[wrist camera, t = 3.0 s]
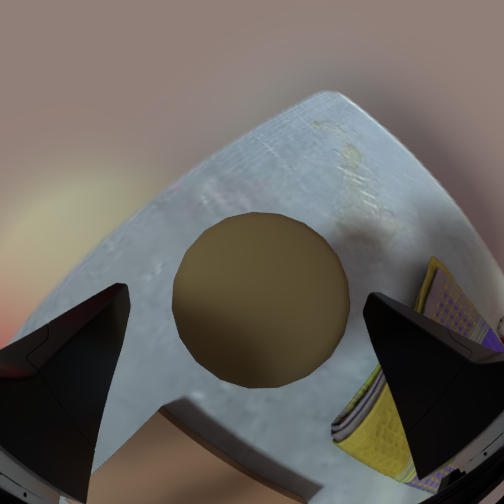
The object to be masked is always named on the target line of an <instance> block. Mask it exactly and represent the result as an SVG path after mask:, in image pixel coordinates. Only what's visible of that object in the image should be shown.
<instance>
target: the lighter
mask: <svg viewBox="0 0 504 504" xmlns="http://www.w3.org/2000/svg"><path fill="white" fill-rule="evenodd" d="M498 327H499V329H498V330H497V332H498V334H499V335H500V337H501V339H502V341H503V344H504V318H503V319H501V320H500V323H499V326H498Z"/></svg>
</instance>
